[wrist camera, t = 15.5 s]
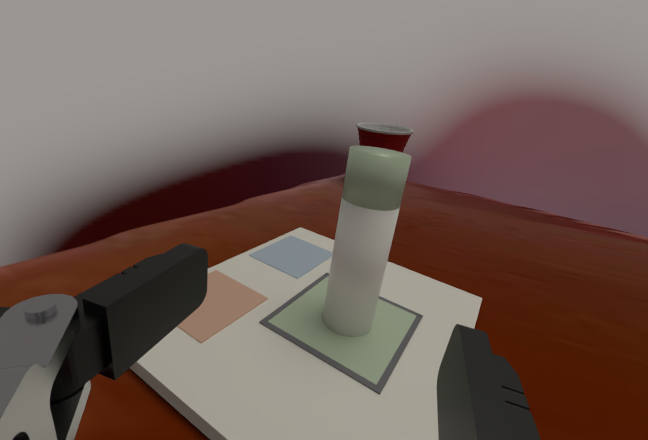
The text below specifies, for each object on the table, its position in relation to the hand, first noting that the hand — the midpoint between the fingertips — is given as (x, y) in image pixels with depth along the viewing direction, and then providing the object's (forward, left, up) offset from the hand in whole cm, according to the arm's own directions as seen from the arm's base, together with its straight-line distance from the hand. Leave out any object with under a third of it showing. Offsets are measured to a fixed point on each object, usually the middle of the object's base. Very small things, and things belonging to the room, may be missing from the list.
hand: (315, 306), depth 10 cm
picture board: (+5, -11, -10) cm, 15 cm away
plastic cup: (+19, -53, -10) cm, 57 cm away
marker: (+3, -11, -8) cm, 14 cm away
